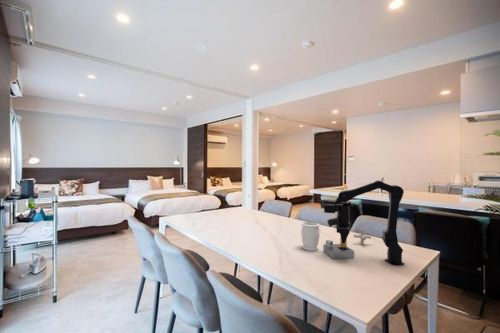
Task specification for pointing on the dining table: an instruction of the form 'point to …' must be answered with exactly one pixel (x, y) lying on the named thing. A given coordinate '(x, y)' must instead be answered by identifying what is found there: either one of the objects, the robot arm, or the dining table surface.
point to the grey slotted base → (337, 251)
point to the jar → (310, 235)
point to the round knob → (343, 243)
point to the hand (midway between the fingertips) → (343, 242)
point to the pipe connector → (362, 236)
